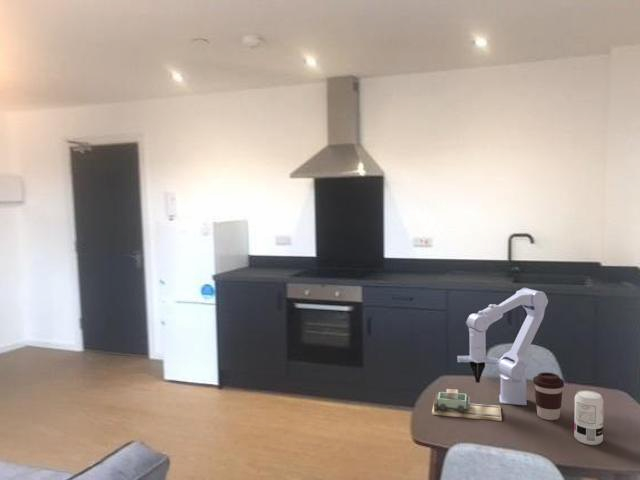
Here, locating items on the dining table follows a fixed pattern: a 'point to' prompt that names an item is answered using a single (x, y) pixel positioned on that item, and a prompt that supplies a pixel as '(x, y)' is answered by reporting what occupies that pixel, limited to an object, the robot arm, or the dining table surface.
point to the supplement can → (588, 417)
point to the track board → (470, 411)
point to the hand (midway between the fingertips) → (477, 381)
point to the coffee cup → (548, 395)
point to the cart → (454, 402)
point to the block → (452, 394)
